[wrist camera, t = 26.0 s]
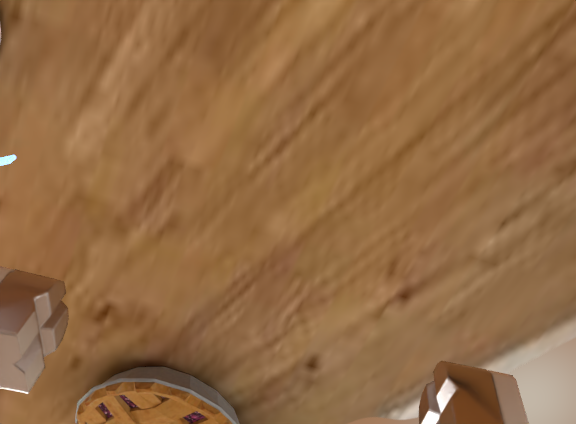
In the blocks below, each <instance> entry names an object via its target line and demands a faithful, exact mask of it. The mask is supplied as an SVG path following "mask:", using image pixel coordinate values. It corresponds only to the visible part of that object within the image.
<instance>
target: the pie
mask: <svg viewBox="0 0 576 424" xmlns="http://www.w3.org/2000/svg"><path fill="white" fill-rule="evenodd" d="M75 422H76V424H240V423H239V420H238V418H237V415H236V413H235V410H234V408H233V407H232V406H231V405H230V404H229V403H228V402H227V401H226V400H225V399H224V398H223V397H222V396H221V395H220V394H219V393H218V391H217V390H215V389H213V388H211V387H210V386H208V385H206V384H205V383H203V382H201V381H200V380H198V379H196V378H195V377H193V376H191V375H189V374H185V373H182V372H179V371H176V370H173V369H170V368H167V367H137V368H134V369H131V370H128V371H125V372H122V373H119V374H115V375H114V376H112V377H111V378H110V379H108V380H107V381H105V382H104V383H103V384H101V385H98V386H95V387H93V388H92V389H91V390H90V391H89V392H88V393H87V394H85V395H84V396H83V397H82V398H81V399H80V400H79V401H78V402H77V411H76V419H75Z"/></svg>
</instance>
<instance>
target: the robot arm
mask: <svg viewBox="0 0 576 424" xmlns="http://www.w3.org/2000/svg"><path fill="white" fill-rule="evenodd" d="M0 42H1V24H0ZM15 159H16V157H15V155H11V156H7V157H2V158H0V165H5V164H10V163H11V162H12V161H14V160H15ZM65 294H66V290H65V284H64V282H63V281H61V280H57V279H53V278H49V277H45V276H41V275H36V274H32V273H28V272H24V271H20V270H16V269H15V270H14V269H10V268H6V267H2V266H0V388H1V389H6V390H12V391H17V392H23V393H28V394H29V392H30V390H31V389H32V387H33V386H34V384H35V383H36V381H37V379H38V378H39V376H40V375H41V373H42V372H43V370H44V368H45V362H44V357H45V356H46V355H48V354H50V353H52V352H54V351H55V350H56V349H57V348H58V346H59V344H60V343H61V341H62V339H63V337H64V334H65V331H66V328H67V325H68V316H69V315H68V308H67V306H66V305H65V304H64V303H63V302H62V301H61V300H62V298H63V297H64V295H65ZM433 373H434V381H432V382H430V383H428V384H426V386H425V389H424V391H423V393H422V396H421V400H420V405H419V424H529V422H528V419H527V416H526V412H525V409H524V405H523V402H522V399H521V396H520V392H519V388H518V385H517V381H516V379H515V378H514V377H513V375H508V374H504V373H499V372H494V371H489V370H488V371H487V370H486V369H481V368H476V367H471V366H466V365H461V364H456V363H451V362H446V361H440V362H439V363H438V364H437V365H436V367H435V369H434V371H433Z"/></svg>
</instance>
